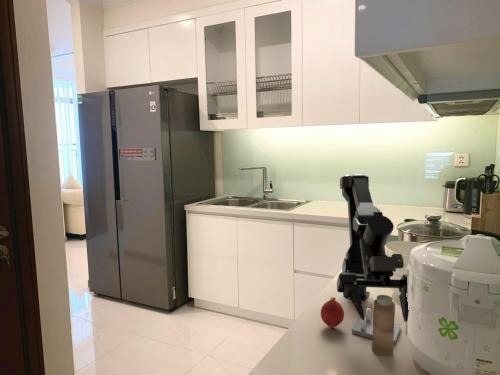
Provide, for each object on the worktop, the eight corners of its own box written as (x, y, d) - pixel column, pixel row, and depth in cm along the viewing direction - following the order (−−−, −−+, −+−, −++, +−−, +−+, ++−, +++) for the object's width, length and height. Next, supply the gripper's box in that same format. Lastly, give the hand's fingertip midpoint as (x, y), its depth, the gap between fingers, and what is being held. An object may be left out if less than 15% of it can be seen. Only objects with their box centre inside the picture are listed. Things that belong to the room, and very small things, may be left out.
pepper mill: (374, 343, 83) (376, 292, 82) (394, 348, 81) (397, 296, 80) (369, 352, 80) (372, 299, 78) (390, 358, 77) (393, 303, 76)
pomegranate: (342, 335, 87) (343, 304, 86) (318, 331, 89) (319, 300, 88) (345, 324, 92) (346, 294, 91) (322, 320, 94) (323, 291, 93)
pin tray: (360, 319, 95) (360, 305, 94) (400, 329, 90) (401, 314, 89) (351, 332, 88) (352, 317, 87) (394, 344, 83) (395, 328, 82)
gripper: (339, 239, 83) (346, 305, 74) (423, 241, 81) (441, 309, 72) (334, 261, 92) (339, 323, 82) (409, 263, 90) (424, 326, 80)
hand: (384, 320), depth 79 cm, fingers open, 9 cm apart
